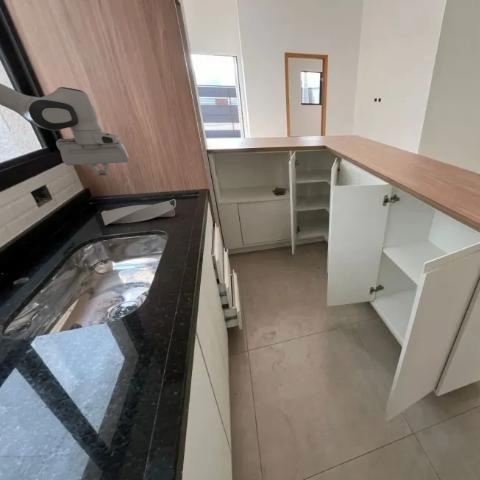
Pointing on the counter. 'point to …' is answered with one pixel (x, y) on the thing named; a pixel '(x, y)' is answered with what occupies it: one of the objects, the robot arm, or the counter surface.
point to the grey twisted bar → (138, 213)
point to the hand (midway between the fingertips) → (103, 175)
